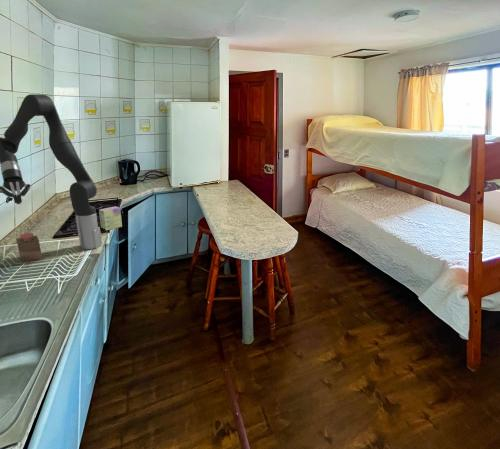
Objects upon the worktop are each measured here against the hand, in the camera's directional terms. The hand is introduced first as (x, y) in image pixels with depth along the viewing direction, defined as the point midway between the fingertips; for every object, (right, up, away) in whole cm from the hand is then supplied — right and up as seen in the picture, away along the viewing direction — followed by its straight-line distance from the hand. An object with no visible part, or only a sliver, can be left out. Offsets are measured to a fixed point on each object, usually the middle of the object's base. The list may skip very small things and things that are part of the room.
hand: (18, 203), depth 155 cm
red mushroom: (+5, -23, 0) cm, 24 cm away
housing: (+5, -25, +1) cm, 26 cm away
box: (+25, -12, +44) cm, 52 cm away
